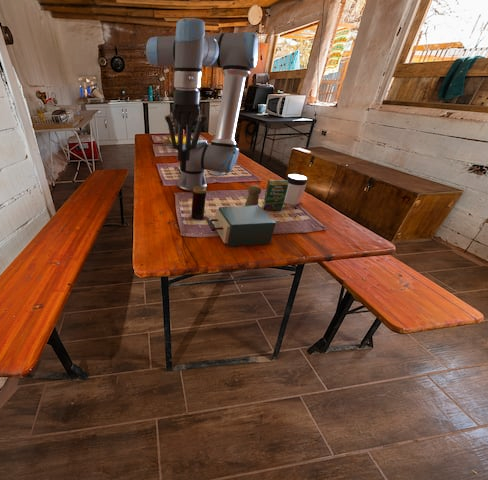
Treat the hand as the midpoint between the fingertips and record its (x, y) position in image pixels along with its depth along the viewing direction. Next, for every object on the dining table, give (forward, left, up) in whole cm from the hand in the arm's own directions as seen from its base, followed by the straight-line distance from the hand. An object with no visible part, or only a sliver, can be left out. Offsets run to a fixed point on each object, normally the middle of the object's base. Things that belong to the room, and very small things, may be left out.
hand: (182, 170), depth 86 cm
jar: (-19, +57, -23) cm, 64 cm away
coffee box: (-12, +44, -23) cm, 51 cm away
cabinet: (+8, +22, -22) cm, 32 cm away
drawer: (+8, +18, -22) cm, 29 cm away
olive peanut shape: (-12, +34, -23) cm, 43 cm away
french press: (-64, +34, -23) cm, 76 cm away
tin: (-8, +9, -22) cm, 25 cm away
